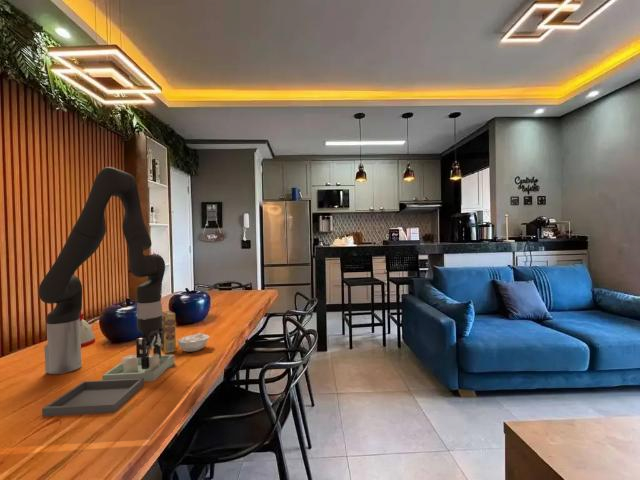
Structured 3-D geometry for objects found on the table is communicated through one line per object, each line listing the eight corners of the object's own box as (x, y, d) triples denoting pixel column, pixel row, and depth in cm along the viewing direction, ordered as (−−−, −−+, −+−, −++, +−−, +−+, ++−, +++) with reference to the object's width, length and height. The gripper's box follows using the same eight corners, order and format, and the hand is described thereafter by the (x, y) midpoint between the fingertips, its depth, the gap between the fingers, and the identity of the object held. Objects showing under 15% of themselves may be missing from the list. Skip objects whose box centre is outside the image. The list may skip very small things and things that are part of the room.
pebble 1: (119, 375, 107) (119, 360, 106) (127, 369, 111) (127, 355, 111) (133, 374, 107) (133, 359, 107) (141, 369, 111) (140, 354, 111)
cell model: (178, 348, 134) (177, 332, 134) (209, 344, 138) (208, 328, 138) (177, 357, 125) (176, 339, 124) (210, 352, 129) (209, 335, 129)
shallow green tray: (102, 386, 101) (102, 375, 101) (129, 366, 116) (129, 356, 116) (154, 384, 102) (154, 372, 101) (174, 364, 117) (174, 354, 117)
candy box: (177, 351, 131) (175, 313, 131) (165, 354, 128) (164, 315, 128) (170, 345, 138) (169, 309, 137) (159, 348, 135) (158, 311, 135)
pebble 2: (142, 374, 107) (141, 358, 107) (148, 368, 111) (147, 354, 111) (156, 373, 107) (155, 358, 107) (162, 367, 112) (161, 353, 112)
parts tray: (42, 420, 83) (42, 408, 83) (84, 391, 98) (83, 381, 98) (114, 416, 83) (113, 404, 83) (144, 387, 99) (143, 378, 99)
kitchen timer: (75, 350, 136) (73, 314, 136) (46, 349, 138) (45, 314, 138) (102, 339, 149) (101, 307, 149) (76, 339, 152) (75, 307, 151)
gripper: (148, 310, 116) (150, 356, 116) (126, 321, 102) (128, 373, 102) (170, 309, 116) (171, 355, 116) (151, 320, 102) (153, 371, 102)
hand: (151, 363), depth 109 cm, fingers open, 8 cm apart
